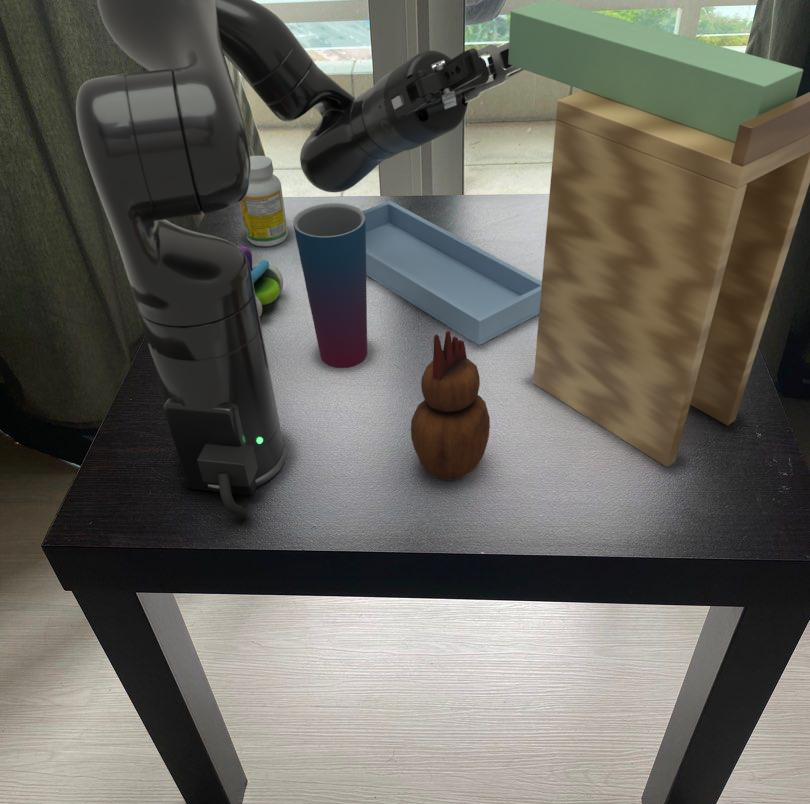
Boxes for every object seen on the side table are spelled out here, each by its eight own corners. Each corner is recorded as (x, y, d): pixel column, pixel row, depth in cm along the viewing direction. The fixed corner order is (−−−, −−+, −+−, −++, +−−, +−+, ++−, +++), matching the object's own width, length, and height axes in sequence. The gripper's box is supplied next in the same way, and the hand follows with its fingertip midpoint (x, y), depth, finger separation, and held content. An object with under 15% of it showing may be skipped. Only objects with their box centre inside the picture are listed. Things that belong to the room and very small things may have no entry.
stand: (532, 383, 85) (560, 64, 64) (600, 345, 89) (647, 33, 68) (667, 468, 76) (752, 128, 55) (735, 420, 80) (839, 87, 59)
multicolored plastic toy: (224, 280, 102) (212, 222, 96) (296, 293, 99) (288, 234, 94) (188, 317, 96) (172, 258, 91) (263, 332, 94) (251, 272, 88)
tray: (325, 249, 106) (322, 227, 104) (390, 222, 110) (389, 200, 108) (478, 345, 90) (479, 321, 88) (547, 309, 95) (550, 285, 92)
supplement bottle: (283, 248, 106) (271, 172, 99) (242, 247, 107) (227, 171, 100) (292, 227, 110) (282, 153, 103) (253, 226, 111) (239, 152, 104)
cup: (367, 375, 87) (355, 239, 76) (304, 370, 88) (283, 234, 78) (382, 338, 92) (372, 205, 81) (321, 334, 93) (304, 201, 82)
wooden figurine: (434, 499, 74) (432, 355, 64) (403, 461, 78) (395, 320, 67) (499, 471, 77) (507, 328, 66) (465, 436, 80) (467, 295, 69)
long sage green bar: (507, 64, 71) (510, 10, 69) (544, 51, 73) (548, -2, 70) (749, 148, 58) (765, 86, 55) (787, 130, 60) (804, 69, 57)
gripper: (344, 84, 82) (436, 20, 69) (453, 48, 88) (559, -17, 74) (372, 163, 85) (466, 117, 71) (476, 123, 91) (582, 73, 77)
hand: (513, 48), depth 73 cm, fingers open, 8 cm apart
